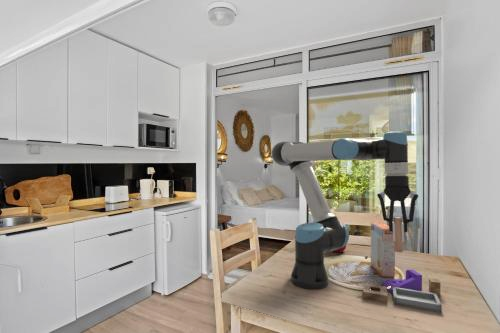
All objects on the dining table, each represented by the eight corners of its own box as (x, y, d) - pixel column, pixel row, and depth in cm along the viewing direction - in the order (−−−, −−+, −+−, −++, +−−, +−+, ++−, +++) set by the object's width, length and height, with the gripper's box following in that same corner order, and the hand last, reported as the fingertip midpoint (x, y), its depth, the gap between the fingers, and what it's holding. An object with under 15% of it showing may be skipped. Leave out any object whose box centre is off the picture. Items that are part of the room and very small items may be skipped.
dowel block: (363, 298, 103) (363, 291, 103) (363, 289, 110) (363, 282, 110) (387, 302, 100) (387, 295, 99) (386, 293, 107) (386, 286, 107)
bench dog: (430, 294, 105) (430, 281, 105) (428, 290, 109) (429, 277, 109) (440, 296, 104) (440, 282, 104) (438, 291, 108) (438, 278, 108)
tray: (393, 303, 99) (394, 297, 99) (392, 293, 107) (392, 286, 107) (441, 312, 93) (441, 305, 93) (436, 300, 101) (436, 293, 101)
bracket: (410, 285, 115) (410, 268, 114) (421, 293, 108) (422, 275, 108) (381, 285, 114) (382, 269, 114) (391, 294, 107) (391, 276, 107)
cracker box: (395, 277, 121) (396, 229, 121) (381, 277, 122) (381, 228, 121) (383, 265, 135) (383, 222, 135) (370, 265, 136) (370, 221, 135)
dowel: (394, 252, 100) (393, 218, 100) (394, 250, 103) (393, 216, 103) (403, 252, 99) (401, 218, 99) (402, 250, 101) (401, 217, 102)
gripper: (373, 175, 101) (375, 241, 101) (422, 175, 95) (424, 245, 94) (373, 175, 108) (375, 236, 108) (419, 174, 101) (421, 240, 101)
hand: (398, 240), depth 101 cm, fingers closed on dowel, 2 cm apart
